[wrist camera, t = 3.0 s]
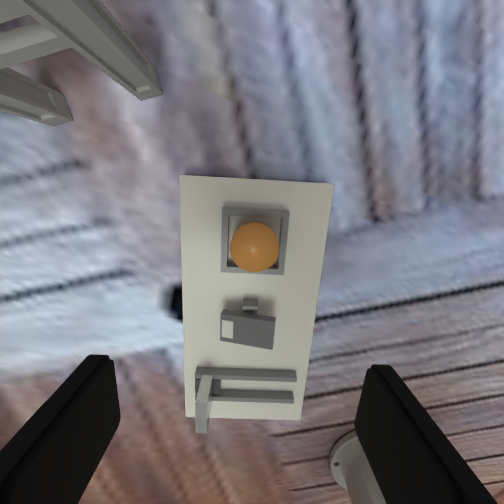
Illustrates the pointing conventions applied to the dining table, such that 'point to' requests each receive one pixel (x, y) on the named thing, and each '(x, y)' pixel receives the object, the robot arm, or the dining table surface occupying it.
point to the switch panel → (251, 290)
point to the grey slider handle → (205, 400)
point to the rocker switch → (247, 328)
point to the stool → (61, 38)
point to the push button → (254, 246)
